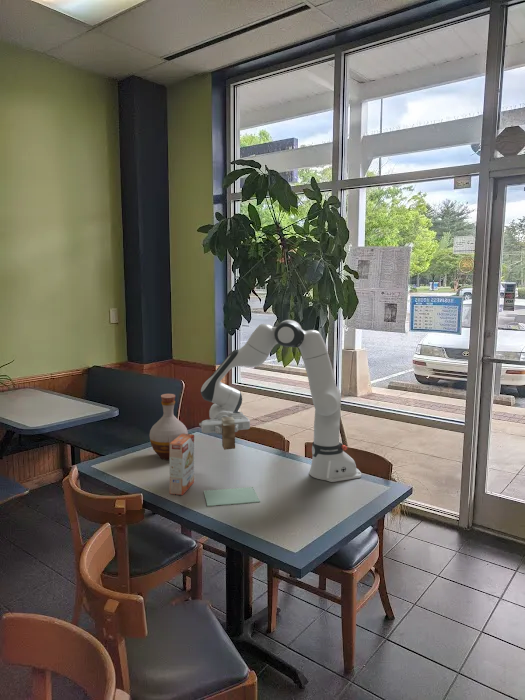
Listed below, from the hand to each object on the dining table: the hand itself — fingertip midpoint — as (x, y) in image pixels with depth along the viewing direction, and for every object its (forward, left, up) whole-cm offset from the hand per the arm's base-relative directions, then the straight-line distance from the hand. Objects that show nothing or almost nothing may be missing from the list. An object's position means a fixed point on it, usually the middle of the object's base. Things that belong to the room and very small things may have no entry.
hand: (228, 430), depth 211 cm
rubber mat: (+1, +10, -23) cm, 26 cm away
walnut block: (0, -1, -7) cm, 7 cm away
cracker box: (+18, -2, -24) cm, 30 cm away
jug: (+22, -42, -24) cm, 53 cm away
